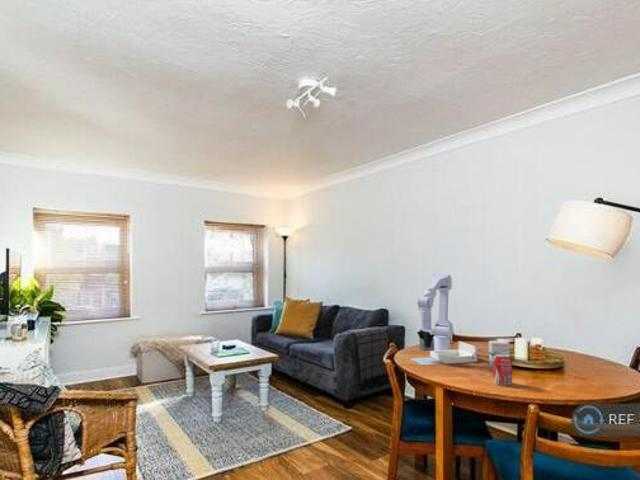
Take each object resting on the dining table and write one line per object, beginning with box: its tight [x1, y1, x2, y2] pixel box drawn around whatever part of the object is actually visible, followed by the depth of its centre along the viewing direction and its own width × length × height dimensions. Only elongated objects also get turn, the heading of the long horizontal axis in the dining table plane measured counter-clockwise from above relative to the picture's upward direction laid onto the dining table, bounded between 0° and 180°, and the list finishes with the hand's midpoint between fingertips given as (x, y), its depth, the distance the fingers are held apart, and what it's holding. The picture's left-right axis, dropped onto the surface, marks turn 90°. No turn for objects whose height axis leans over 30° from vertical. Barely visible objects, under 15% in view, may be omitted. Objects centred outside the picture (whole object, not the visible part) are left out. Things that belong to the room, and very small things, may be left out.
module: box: [419, 338, 434, 352], centre depth 203 cm, size 4×6×6 cm
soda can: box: [492, 354, 513, 387], centre depth 166 cm, size 7×7×12 cm
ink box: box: [488, 340, 511, 367], centre depth 194 cm, size 9×5×12 cm, turn 84°
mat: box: [410, 356, 443, 367], centre depth 202 cm, size 13×11×1 cm
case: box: [429, 340, 480, 365], centre depth 205 cm, size 17×18×8 cm
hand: (425, 346), depth 202 cm, fingers closed on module, 4 cm apart
